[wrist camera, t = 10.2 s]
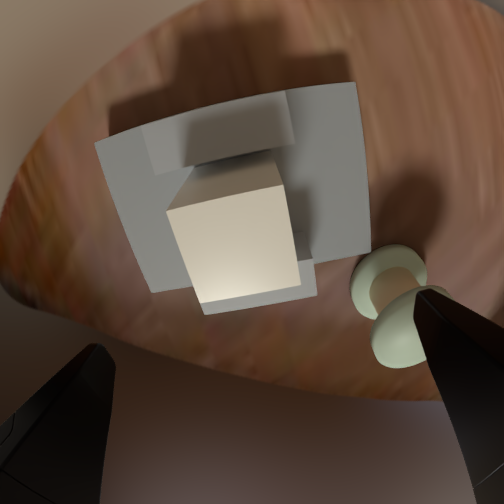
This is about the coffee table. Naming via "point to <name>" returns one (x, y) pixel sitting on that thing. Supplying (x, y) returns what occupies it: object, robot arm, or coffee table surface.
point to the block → (235, 228)
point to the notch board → (242, 144)
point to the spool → (392, 302)
